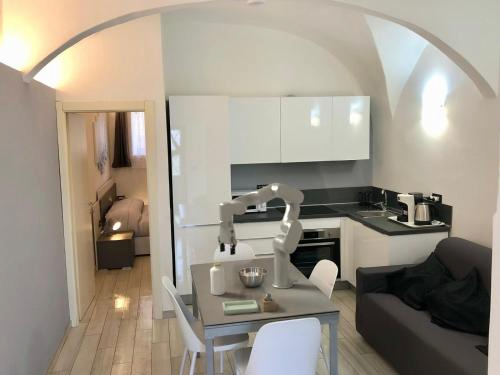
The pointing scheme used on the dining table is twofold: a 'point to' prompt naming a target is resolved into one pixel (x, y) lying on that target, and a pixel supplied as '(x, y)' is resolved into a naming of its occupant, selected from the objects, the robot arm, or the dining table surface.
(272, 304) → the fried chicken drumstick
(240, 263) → the dining table surface
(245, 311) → the sage tray
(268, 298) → the steel stake
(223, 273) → the potion bottle
